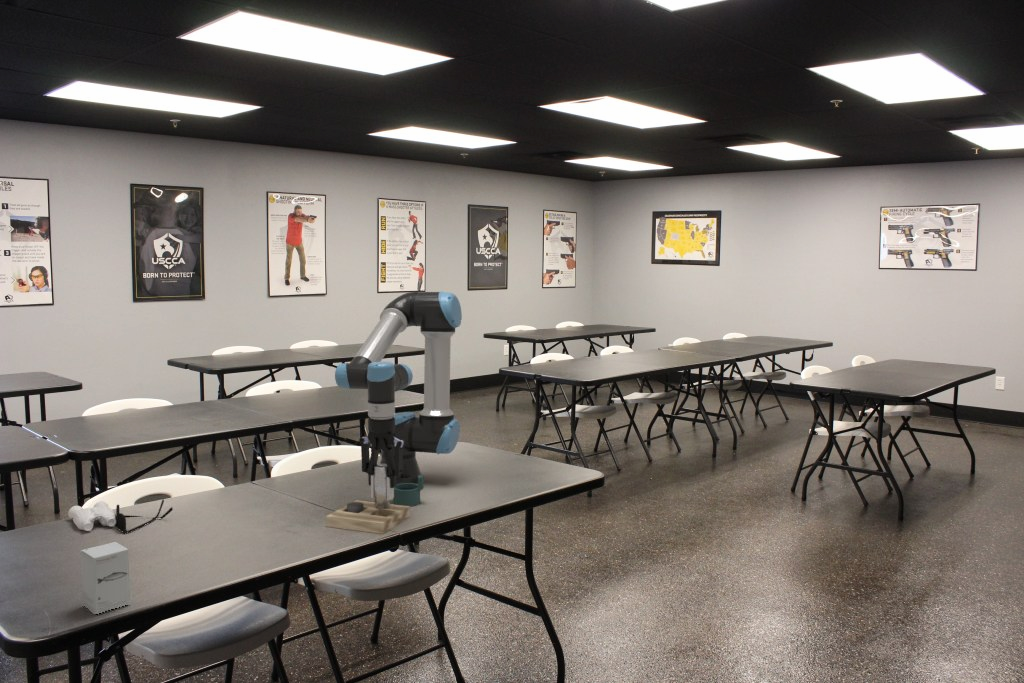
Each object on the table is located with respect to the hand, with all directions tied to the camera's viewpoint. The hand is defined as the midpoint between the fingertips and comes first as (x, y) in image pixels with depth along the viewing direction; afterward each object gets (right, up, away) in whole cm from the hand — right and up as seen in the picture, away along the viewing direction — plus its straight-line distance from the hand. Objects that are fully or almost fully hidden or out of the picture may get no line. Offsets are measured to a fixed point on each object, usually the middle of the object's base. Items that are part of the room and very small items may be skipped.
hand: (382, 497), depth 219 cm
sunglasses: (-69, -8, +1) cm, 69 cm away
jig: (-4, -7, +2) cm, 9 cm away
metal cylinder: (0, -3, 0) cm, 3 cm away
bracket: (+4, -6, +20) cm, 22 cm away
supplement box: (-50, -13, -53) cm, 75 cm away
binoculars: (-82, -8, 0) cm, 82 cm away
